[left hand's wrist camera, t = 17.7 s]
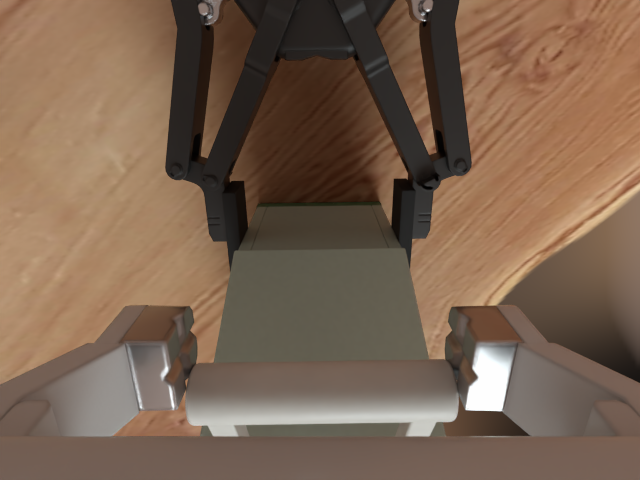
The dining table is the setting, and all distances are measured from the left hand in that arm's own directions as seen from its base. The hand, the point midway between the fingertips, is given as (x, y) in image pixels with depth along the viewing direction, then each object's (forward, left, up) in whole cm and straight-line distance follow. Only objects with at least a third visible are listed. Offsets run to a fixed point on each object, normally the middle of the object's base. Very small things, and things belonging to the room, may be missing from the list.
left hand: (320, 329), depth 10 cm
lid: (+1, -6, -5) cm, 8 cm away
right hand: (+1, -7, -15) cm, 16 cm away
